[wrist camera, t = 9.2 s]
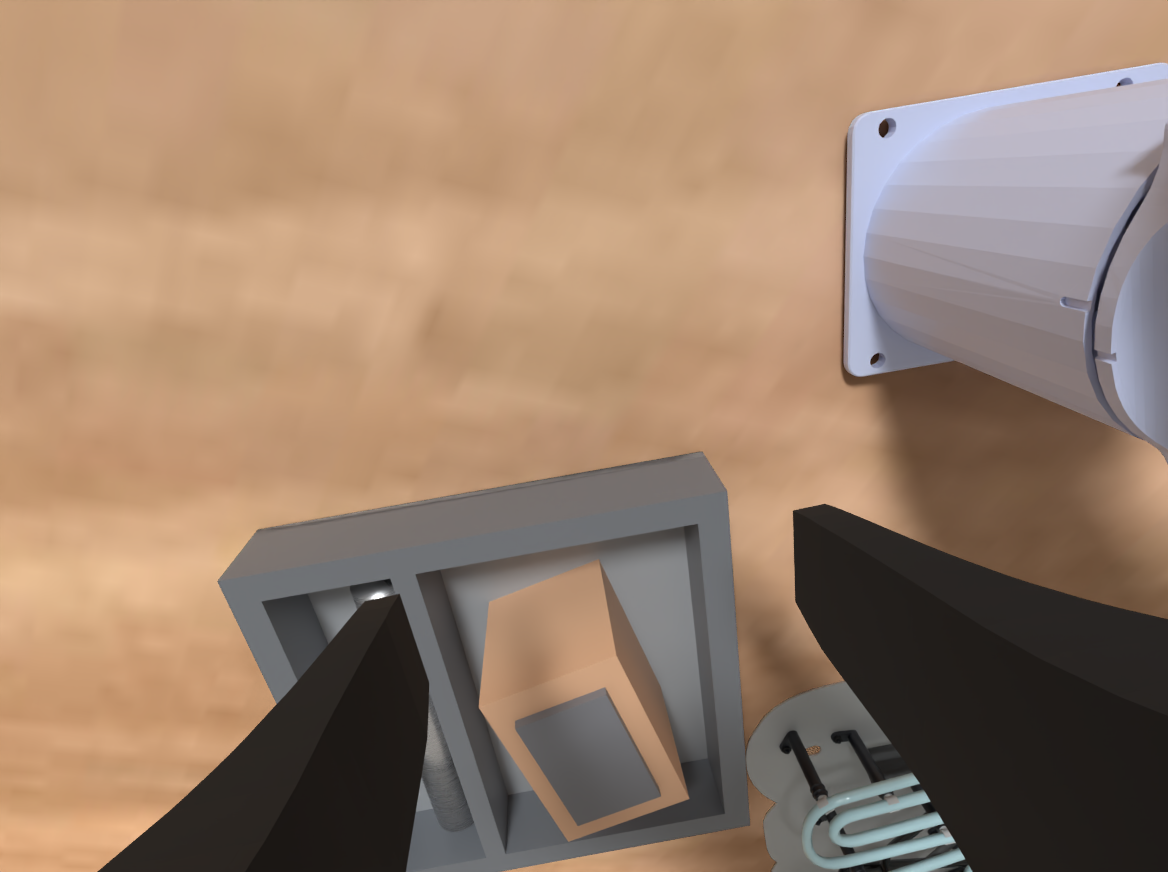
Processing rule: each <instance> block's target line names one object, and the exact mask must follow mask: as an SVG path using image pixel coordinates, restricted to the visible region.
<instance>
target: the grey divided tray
mask: <svg viewBox="0 0 1168 872" xmlns="http://www.w3.org/2000/svg"><path fill="white" fill-rule="evenodd" d="M597 559H599V560H600V562H601V564H602V566H603V569H604V571H605V573H606V575H607V577H608V579H609V581H610V583H611V585H612V587H613V589H614V591H615V593H616V595H617V597H618V600H619V602H620V604H621V606H622V608H623V610H624V612H625V614H626V616H627V618H628V620H629V622H630V624H631V626H632V628H633V631H634V633H635V635H636V637H637V639H638V641H639V643H640V645H641V647H642V649H643V651H644V653H645V655H646V657H647V659H648V662H649V664H650V666H651V668H652V670H653V672H654V674H655V676H656V678H657V680H658V682H659V684H660V686H661V690H662V694H663V698H664V702H665V706H666V709H667V713H668V717H669V721H670V725H671V729H672V733H673V737H674V741H675V744H676V748H677V752H678V756H679V760H680V764H681V768H682V772H683V776H684V780H685V783H686V787H687V791H688V795H689V799H688V800H685V801H682V802H679V803H676V804H674V805H671V806H668V807H665V808H662V809H660V810H657V811H654V812H651V813H648V814H645V815H643V816H640V817H637V818H634V819H631V820H629V821H626V822H623V823H620V824H617V825H614V826H612V827H609V828H606V829H603V830H600V831H597V832H595V833H592V834H589V835H586V836H583V837H581V838H578V839H575V840H572V841H569V842H568V841H567V839H566V838H565V836H564V835H563V833H562V832H561V830H560V829H559V827H558V826H557V824H556V823H555V821H554V820H553V818H552V817H551V815H550V814H549V812H548V811H547V809H546V808H545V806H544V805H543V803H542V802H541V800H540V799H539V797H538V796H537V794H536V793H535V791H534V790H533V788H532V787H531V785H530V784H529V782H528V781H527V779H526V778H525V776H524V775H523V773H522V772H521V770H520V769H519V767H518V766H517V764H516V763H515V761H514V760H513V758H512V757H511V755H510V754H509V752H508V751H507V749H506V748H505V746H504V745H503V743H502V742H501V740H500V739H499V737H498V736H497V734H496V733H495V731H494V730H493V728H492V727H491V725H490V724H489V722H488V721H487V719H486V718H485V716H484V715H483V713H482V712H481V710H480V709H479V699H480V689H481V678H482V668H483V658H484V648H485V638H486V628H487V618H488V607H489V602H490V601H493V600H496V599H498V598H501V597H503V596H506V595H508V594H511V593H513V592H516V591H518V590H521V589H524V588H526V587H529V586H531V585H534V584H536V583H539V582H541V581H544V580H546V579H549V578H552V577H554V576H557V575H559V574H562V573H564V572H567V571H569V570H572V569H575V568H577V567H580V566H582V565H585V564H587V563H590V562H592V561H595V560H597ZM385 579H391V582H392V585H393V588H394V591H395V594H400V596H401V599H402V602H403V605H404V608H405V611H406V614H407V617H408V620H409V623H410V626H411V629H412V632H413V635H414V638H415V641H416V644H417V647H418V650H419V653H420V656H421V659H422V662H423V665H424V668H425V671H426V674H427V677H428V680H429V693H430V696H431V699H432V701H433V704H434V707H435V710H436V713H437V716H438V719H439V722H440V725H441V728H442V730H443V733H444V736H445V739H446V742H447V745H448V748H449V751H450V754H451V757H452V760H453V762H454V765H455V768H456V771H457V774H458V777H459V780H460V783H461V786H462V789H463V792H464V794H465V797H466V800H467V803H468V806H469V809H470V812H471V815H472V818H473V821H474V823H473V824H472V825H471V826H470V827H468V828H466V829H464V830H462V831H458V832H449V831H446V830H444V829H443V828H442V827H441V826H440V825H439V823H438V821H437V818H436V816H435V813H434V810H433V808H432V805H431V802H430V800H429V797H428V794H427V792H426V789H425V787H424V784H423V781H422V779H421V783H420V789H419V795H418V801H417V807H416V813H415V819H414V826H413V832H412V838H411V844H410V850H409V856H408V862H407V868H406V872H501V871H506V870H512V869H517V868H522V867H528V866H533V865H539V864H544V863H549V862H555V861H560V860H566V859H571V858H576V857H582V856H587V855H593V854H598V853H603V852H609V851H614V850H620V849H625V848H630V847H636V846H641V845H647V844H652V843H657V842H663V841H668V840H674V839H679V838H684V837H690V836H695V835H701V834H706V833H711V832H717V831H722V830H728V829H733V828H738V827H744V826H749V825H750V817H749V802H748V788H747V773H746V759H745V744H744V729H743V715H742V700H741V686H740V671H739V656H738V642H737V627H736V613H735V598H734V583H733V569H732V554H731V540H730V525H729V511H728V496H727V490H726V488H725V487H724V485H723V484H722V482H721V480H720V479H719V477H718V476H717V474H716V473H715V471H714V469H713V468H712V466H711V465H710V463H709V462H708V460H707V458H706V457H705V455H704V454H703V452H696V453H691V454H685V455H679V456H674V457H668V458H662V459H657V460H651V461H645V462H640V463H634V464H628V465H622V466H617V467H611V468H605V469H600V470H594V471H588V472H583V473H577V474H571V475H566V476H560V477H554V478H549V479H543V480H537V481H532V482H526V483H520V484H515V485H509V486H503V487H498V488H492V489H486V490H481V491H475V492H469V493H463V494H458V495H452V496H446V497H441V498H435V499H429V500H424V501H418V502H412V503H407V504H401V505H395V506H390V507H384V508H378V509H373V510H367V511H361V512H356V513H350V514H344V515H339V516H333V517H327V518H321V519H316V520H310V521H304V522H299V523H293V524H287V525H282V526H276V527H270V528H265V529H259V530H257V531H256V533H255V534H254V535H253V536H252V538H251V539H250V540H249V541H248V543H247V544H246V545H245V547H244V548H243V549H242V550H241V552H240V553H239V554H238V556H237V557H236V558H235V559H234V561H233V562H232V563H231V564H230V566H229V567H228V568H227V570H226V571H225V572H224V573H223V575H222V576H221V577H220V579H219V580H218V581H217V582H218V584H219V586H220V588H221V590H222V592H223V594H224V596H225V598H226V600H227V602H228V604H229V606H230V608H231V610H232V613H233V615H234V617H235V619H236V621H237V623H238V625H239V627H240V629H241V631H242V633H243V635H244V637H245V639H246V641H247V644H248V646H249V648H250V650H251V652H252V654H253V656H254V658H255V660H256V662H257V664H258V666H259V668H260V670H261V672H262V675H263V677H264V679H265V681H266V683H267V685H268V687H269V689H270V691H271V693H272V695H273V697H274V699H275V701H276V703H278V702H279V701H280V700H281V699H282V698H283V697H284V696H285V695H286V694H287V693H288V691H289V690H290V689H291V688H292V687H293V686H294V685H295V684H296V682H297V681H298V680H299V679H300V678H301V676H302V675H303V674H304V673H305V672H306V671H307V669H308V668H309V667H310V666H311V665H312V663H313V662H314V661H315V660H316V659H317V657H318V656H319V655H320V654H321V653H322V652H323V650H324V649H325V648H326V647H327V646H328V644H329V643H330V642H331V641H332V639H333V638H334V637H335V636H336V635H337V633H338V632H339V631H340V630H341V628H342V627H343V626H344V625H345V624H346V622H347V621H348V620H349V619H350V618H351V616H352V615H353V614H354V613H355V612H356V610H357V607H356V605H355V602H354V599H353V597H352V594H351V591H350V586H351V585H357V584H362V583H368V582H374V581H379V580H385Z"/></svg>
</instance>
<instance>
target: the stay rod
mask: <svg viewBox="0 0 1168 872" xmlns="http://www.w3.org/2000/svg"><path fill="white" fill-rule="evenodd" d="M350 591H351V594H352V597H353V599H354V602H355V605H356V607H357V609H358V608H359V607H360V606H361V605H362V604H363V603H364V602H365V601H368V600H372V599H377V598H382V597H387V596H391V595H396V594H395V591H394V588H393V585H392V582H391V579H385V580H379V581H374V582H368V583H362V584H357V585H351V586H350ZM421 779H422V781H423V784H424V787H425V789H426V792H427V794H428V797H429V800H430V802H431V805H432V808H433V810H434V813H435V816H436V818H437V821H438V823H439V825H440V826H441V827H442V828H443V829H444V830H446V831H449V832H458V831H462V830H464V829H466V828H468V827H470V826H471V825H472V824H473V823H474V821H473V818H472V815H471V812H470V809H469V806H468V803H467V800H466V797H465V794H464V792H463V789H462V786H461V783H460V780H459V777H458V774H457V771H456V768H455V765H454V762H453V760H452V757H451V754H450V751H449V748H448V745H447V742H446V739H445V736H444V733H443V730H442V728H441V725H440V722H439V719H438V716H437V713H436V710H435V707H434V704H433V701H432V699H431V696H430V693H429V714H428V736H427V744H426V751H425V758H424V764H423V770H422V777H421Z"/></svg>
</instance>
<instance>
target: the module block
mask: <svg viewBox="0 0 1168 872" xmlns="http://www.w3.org/2000/svg"><path fill="white" fill-rule="evenodd" d="M479 709H480V710H481V712H482V713H483V715H484V716H485V718H486V719H487V721H488V722H489V724H490V725H491V727H492V728H493V730H494V731H495V733H496V734H497V736H498V737H499V739H500V740H501V742H502V743H503V745H504V746H505V748H506V749H507V751H508V752H509V754H510V755H511V757H512V758H513V760H514V761H515V763H516V764H517V766H518V767H519V769H520V770H521V772H522V773H523V775H524V776H525V778H526V779H527V781H528V782H529V784H530V785H531V787H532V788H533V790H534V791H535V793H536V794H537V796H538V797H539V799H540V800H541V802H542V803H543V805H544V806H545V808H546V809H547V811H548V812H549V814H550V815H551V817H552V818H553V820H554V821H555V823H556V824H557V826H558V827H559V829H560V830H561V832H562V833H563V835H564V836H565V838H566V839H567V841H568V842H569V841H572V840H575V839H578V838H581V837H583V836H586V835H589V834H592V833H595V832H597V831H600V830H603V829H606V828H609V827H612V826H614V825H617V824H620V823H623V822H626V821H629V820H631V819H634V818H637V817H640V816H643V815H645V814H648V813H651V812H654V811H657V810H660V809H662V808H665V807H668V806H671V805H674V804H676V803H679V802H682V801H685V800H688V799H689V795H688V791H687V787H686V783H685V780H684V776H683V772H682V768H681V764H680V760H679V756H678V752H677V748H676V744H675V741H674V737H673V733H672V729H671V725H670V721H669V717H668V713H667V709H666V706H665V702H664V698H663V694H662V690H661V686H660V684H659V682H658V680H657V678H656V676H655V674H654V672H653V670H652V668H651V666H650V664H649V662H648V659H647V657H646V655H645V653H644V651H643V649H642V647H641V645H640V643H639V641H638V639H637V637H636V635H635V633H634V631H633V628H632V626H631V624H630V622H629V620H628V618H627V616H626V614H625V612H624V610H623V608H622V606H621V604H620V602H619V600H618V597H617V595H616V593H615V591H614V589H613V587H612V585H611V583H610V581H609V579H608V577H607V575H606V573H605V571H604V569H603V566H602V564H601V562H600V560H599V559H597V560H595V561H592V562H590V563H587V564H585V565H582V566H580V567H577V568H575V569H572V570H569V571H567V572H564V573H562V574H559V575H557V576H554V577H552V578H549V579H546V580H544V581H541V582H539V583H536V584H534V585H531V586H529V587H526V588H524V589H521V590H518V591H516V592H513V593H511V594H508V595H506V596H503V597H501V598H498V599H496V600H493V601H490V602H489V607H488V618H487V628H486V638H485V648H484V658H483V668H482V678H481V689H480V699H479Z"/></svg>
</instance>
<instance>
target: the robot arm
mask: <svg viewBox="0 0 1168 872" xmlns="http://www.w3.org/2000/svg"><path fill="white" fill-rule="evenodd" d="M1119 82H1120V83H1121V86H1118V87H1116V86H1117V84H1118V83H1119ZM883 120H886V121H887V122H888V125H889V130H888V133H887V134H886V136H885V137H883V138H882V137H881V136H880V135H879V131H878V129H879V125H880V123H881V122H882V121H883ZM877 353H879V359H878V361H877V362H876V363H875V364H872V365H871V364H870V360H871V358H872V356H873V355H874V354H877ZM950 361H957V362H960V363H962V364H965V365H967V366H969V367H972V368H974V369H976V370H979V371H981V372H983V373H986V374H988V375H991V376H993V377H995V378H998V379H1000V380H1002V381H1005V382H1007V383H1009V384H1012V385H1014V386H1016V387H1019V388H1021V389H1024V390H1026V391H1028V392H1031V393H1033V394H1035V395H1038V396H1040V397H1042V398H1045V399H1047V400H1050V401H1052V402H1054V403H1057V404H1059V405H1061V406H1064V407H1066V408H1068V409H1071V410H1073V411H1075V412H1078V413H1080V414H1083V415H1085V416H1087V417H1090V418H1092V419H1094V420H1097V421H1099V422H1101V423H1104V424H1106V425H1109V426H1111V427H1113V428H1116V429H1118V430H1120V431H1123V432H1125V433H1127V434H1130V435H1132V436H1134V437H1137V438H1140V439H1142V440H1145V441H1147V442H1148V443H1150V444H1151V445H1153V446H1154V447H1155V448H1157V449H1158V450H1159V451H1160V452H1161V453H1162V455H1163V456H1164V457H1165V460H1166V462H1167V464H1168V64H1166V63H1156V64H1150V65H1144V66H1138V67H1132V68H1126V69H1120V70H1114V71H1108V72H1102V73H1097V74H1091V75H1085V76H1079V77H1073V78H1067V79H1061V80H1055V81H1049V82H1043V83H1037V84H1031V85H1025V86H1020V87H1014V88H1008V89H1002V90H996V91H990V92H984V93H978V94H972V95H966V96H960V97H954V98H948V99H942V100H937V101H931V102H925V103H919V104H913V105H907V106H901V107H895V108H889V109H883V110H877V111H871V112H866V113H863V114H860V115H858V116H857V117H856V118H855V119H854V120H853V121H852V123H851V124H850V126H849V129H848V136H847V194H846V252H845V310H844V367H845V369H846V370H847V372H849V373H850V374H852V375H854V376H856V377H864V376H870V375H875V374H881V373H887V372H893V371H898V370H904V369H910V368H915V367H921V366H927V365H933V364H938V363H944V362H950ZM793 527H794V565H795V602H796V603H797V605H798V607H799V609H800V611H801V613H802V615H803V616H804V618H805V620H806V622H807V624H808V626H809V628H810V629H811V631H812V633H813V635H814V636H815V638H816V640H817V642H818V643H819V645H820V647H821V649H822V650H823V651H824V653H825V654H826V656H827V657H828V658H829V660H830V661H831V663H832V664H833V665H834V667H835V668H836V669H837V671H838V672H839V673H840V675H841V676H842V678H843V679H844V680H845V682H846V683H847V684H848V686H849V687H850V688H851V690H852V691H853V693H854V694H855V695H856V697H857V698H858V699H859V701H860V702H861V703H862V705H863V706H864V707H865V709H866V710H867V711H868V713H869V714H870V715H871V717H872V718H873V719H874V721H875V722H876V723H877V725H878V726H879V727H880V729H881V730H882V731H883V733H884V734H885V735H886V737H887V738H888V740H889V741H890V742H891V744H892V745H893V746H894V748H895V749H896V750H897V752H898V753H899V754H900V756H901V757H902V758H903V760H904V761H905V763H906V764H907V766H908V767H909V769H910V770H911V772H912V773H913V775H914V776H915V777H916V779H917V780H918V782H919V783H920V785H921V786H922V788H923V790H924V791H925V793H926V795H927V796H928V798H929V800H930V801H931V803H932V805H933V806H934V808H935V809H936V811H937V813H938V814H939V816H940V818H941V819H942V821H943V823H944V824H945V826H946V828H947V829H948V831H949V832H950V834H951V836H952V837H953V839H954V841H955V842H956V844H957V846H958V847H959V849H960V851H961V853H962V854H963V856H964V858H965V860H966V861H967V863H968V865H969V866H970V868H971V870H972V872H1168V619H1164V618H1159V617H1155V616H1151V615H1147V614H1142V613H1138V612H1134V611H1129V610H1125V609H1121V608H1117V607H1113V606H1109V605H1105V604H1101V603H1097V602H1093V601H1090V600H1086V599H1082V598H1079V597H1076V596H1072V595H1069V594H1065V593H1062V592H1059V591H1055V590H1052V589H1048V588H1045V587H1042V586H1038V585H1035V584H1031V583H1028V582H1025V581H1022V580H1019V579H1016V578H1013V577H1010V576H1007V575H1004V574H1001V573H999V572H996V571H993V570H990V569H988V568H985V567H982V566H979V565H976V564H974V563H971V562H968V561H965V560H963V559H960V558H958V557H955V556H952V555H950V554H947V553H945V552H942V551H940V550H937V549H935V548H932V547H930V546H927V545H925V544H922V543H920V542H917V541H915V540H913V539H910V538H908V537H905V536H903V535H901V534H898V533H896V532H894V531H891V530H889V529H887V528H884V527H882V526H879V525H877V524H875V523H872V522H870V521H868V520H865V519H863V518H861V517H858V516H856V515H853V514H851V513H848V512H846V511H843V510H841V509H838V508H836V507H833V506H830V505H827V504H822V505H818V506H813V507H808V508H803V509H799V510H794V511H793ZM428 714H429V680H428V677H427V674H426V671H425V668H424V665H423V662H422V659H421V656H420V653H419V650H418V647H417V644H416V641H415V638H414V635H413V632H412V629H411V626H410V623H409V620H408V617H407V614H406V611H405V608H404V605H403V602H402V599H401V596H400V594H396V595H391V596H387V597H382V598H377V599H372V600H368V601H365V602H364V603H363V604H362V605H361V606H360V607H359V608H358V609H357V610H356V612H355V613H354V614H353V615H352V616H351V618H350V619H349V620H348V621H347V622H346V624H345V625H344V626H343V627H342V628H341V630H340V631H339V632H338V633H337V635H336V636H335V637H334V638H333V639H332V641H331V642H330V643H329V644H328V646H327V647H326V648H325V649H324V650H323V652H322V653H321V654H320V655H319V656H318V657H317V659H316V660H315V661H314V662H313V663H312V665H311V666H310V667H309V668H308V669H307V671H306V672H305V673H304V674H303V675H302V676H301V678H300V679H299V680H298V681H297V682H296V684H295V685H294V686H293V687H292V688H291V689H290V690H289V691H288V693H287V694H286V695H285V696H284V697H283V698H282V699H281V700H280V701H279V702H278V703H277V705H276V706H275V707H274V708H273V709H272V710H271V711H270V712H269V713H268V714H267V715H266V717H265V718H264V719H263V720H262V721H261V722H260V723H259V724H258V725H257V726H256V727H255V729H254V730H253V731H252V732H251V733H250V734H249V735H248V736H247V737H246V738H245V739H244V740H243V741H242V742H241V743H240V744H239V745H238V747H237V748H236V749H235V750H234V751H233V752H232V753H231V754H230V755H229V756H228V757H227V758H226V759H225V760H224V761H222V762H221V763H220V764H219V765H218V766H217V767H216V768H215V769H214V770H213V771H212V772H211V773H210V774H209V775H208V776H207V777H206V778H205V779H204V780H203V781H202V782H200V783H199V784H198V785H197V786H196V787H195V788H194V789H193V790H192V791H191V792H190V793H189V794H188V795H187V796H186V797H184V798H183V799H182V800H181V801H180V802H179V803H178V804H177V805H176V806H175V807H173V808H172V809H171V810H170V811H169V812H168V813H167V814H165V815H164V816H163V817H162V818H161V819H160V820H158V821H157V822H156V823H155V824H154V825H152V826H151V827H150V828H149V829H148V830H146V831H145V832H144V833H143V834H142V835H141V836H139V837H138V838H137V839H136V840H135V841H133V842H132V843H131V844H130V845H129V846H128V847H126V848H125V849H124V850H123V851H122V852H120V853H119V854H118V855H117V856H116V857H114V858H113V859H112V860H111V861H110V862H109V863H107V864H106V865H105V866H104V867H103V868H101V869H100V870H99V871H98V872H406V868H407V862H408V856H409V850H410V844H411V838H412V832H413V826H414V819H415V813H416V807H417V801H418V795H419V789H420V783H421V777H422V770H423V764H424V758H425V751H426V744H427V736H428Z"/></svg>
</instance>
